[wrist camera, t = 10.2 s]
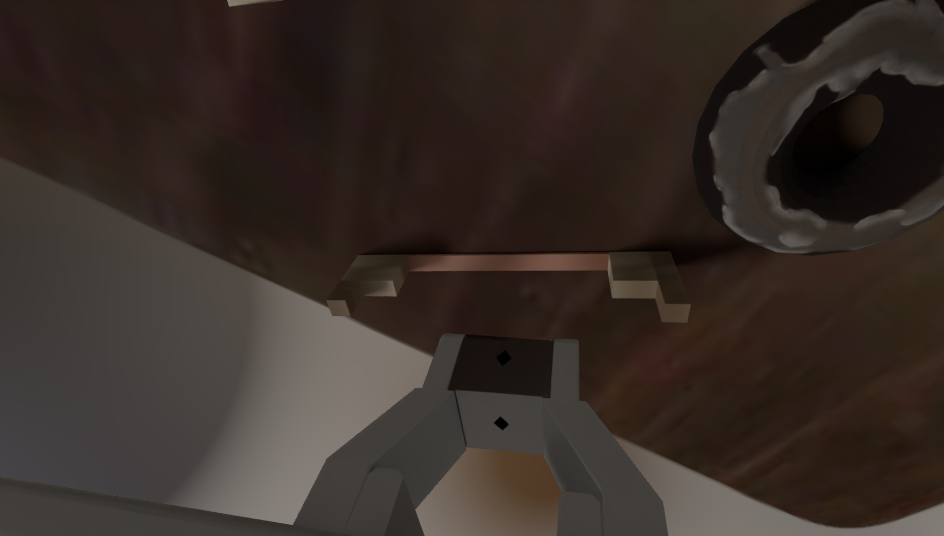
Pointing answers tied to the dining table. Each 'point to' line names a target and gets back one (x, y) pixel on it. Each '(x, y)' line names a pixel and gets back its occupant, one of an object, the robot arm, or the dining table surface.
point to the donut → (803, 96)
